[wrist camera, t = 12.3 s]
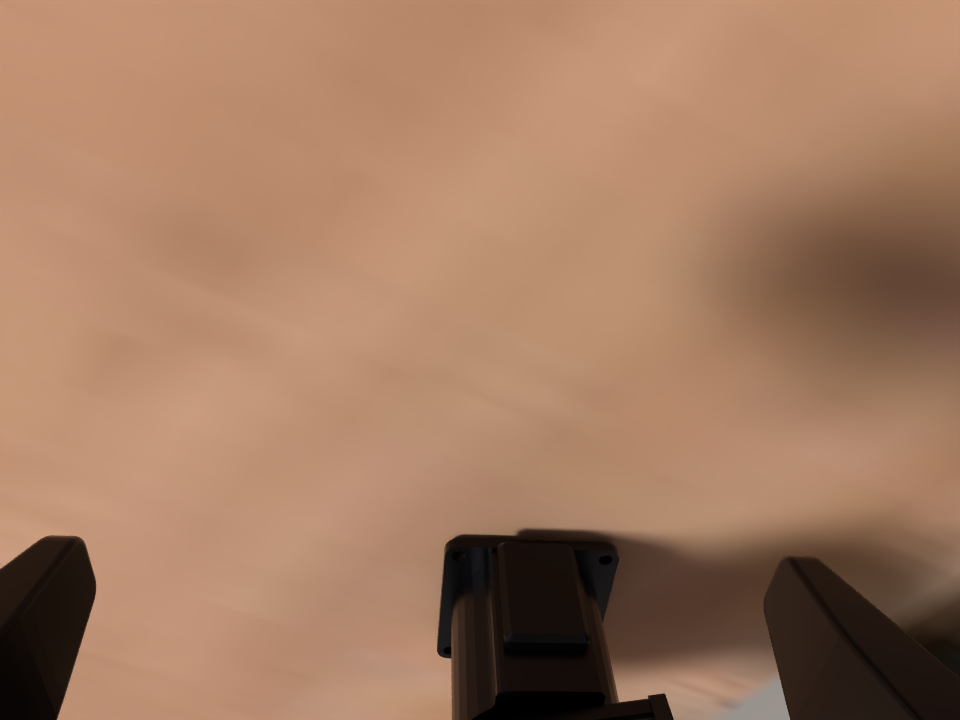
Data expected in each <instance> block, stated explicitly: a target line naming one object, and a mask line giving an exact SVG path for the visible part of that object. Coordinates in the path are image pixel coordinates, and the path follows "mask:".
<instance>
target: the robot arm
mask: <svg viewBox="0 0 960 720" xmlns="http://www.w3.org/2000/svg"><path fill="white" fill-rule="evenodd" d="M457 551H460V553H456V552H457ZM606 555H607V556H606ZM602 556H605V557H602ZM618 561H619V557H618V553H617V549H616V547H615V546H614V545H612V544H610V543H599V542H564V541H530V540H495V539H461V538H459V539H453V540H450V541H449V542H448V543H447V544H446V545H445V550H444V563H443V575H442V588H441V601H440V613H439V626H438V638H437V652H438V654H439V655H440V656H442V657H444V658H451V661H452V720H674V719H673V716H672V713H671V710H670V707H669V704H668V701H667V698H666V695H665V694H657V695H649V696H648V699H642V700H635V701H627V702H620V703H619V700H618V695H617V690H616V685H615V681H614V676H613V671H612V667H611V662H610V657H609V652H608V648H607V643H606V638H605V633H604V629H603V624H602V622H603V619H604V615H605V611H606V607H607V603H608V599H609V596H610V592H611V588H612V584H613V580H614V577H615V573H616V569H617V565H618ZM95 594H96V580H95V576H94V572H93V569H92V565H91V562H90V558H89V555H88V551H87V548H86V545H85V543H84V541H83V540H82V539H81V538H80V537H77V536H54V535H53V536H46V537H44V538H42V539H40V540H39V541H37V542H36V543H34V544H33V545H32V546H30V547H29V548H28V549H26V550H25V551H24V552H22V553H21V554H20V555H18V556H17V557H16V558H14V559H13V560H12V561H10V562H9V563H8V564H6V565H5V566H4V567H2V568H1V569H0V720H57V718H58V715H59V712H60V709H61V706H62V703H63V700H64V697H65V694H66V691H67V687H68V684H69V681H70V678H71V674H72V671H73V668H74V665H75V661H76V658H77V655H78V652H79V648H80V645H81V642H82V639H83V635H84V632H85V629H86V626H87V622H88V619H89V616H90V613H91V609H92V606H93V603H94V599H95ZM764 613H765V618H766V622H767V626H768V630H769V634H770V639H771V643H772V647H773V651H774V655H775V659H776V663H777V667H778V672H779V676H780V680H781V684H782V688H783V692H784V696H785V701H786V705H787V708H788V712H789V716H790V720H960V677H958V676H957V675H956V674H955V673H954V672H952V671H951V670H950V669H949V668H948V667H946V666H945V665H944V664H943V663H942V662H941V661H939V660H938V659H937V658H936V657H935V656H933V655H932V654H931V653H930V652H929V651H927V650H926V649H925V648H924V647H923V646H922V645H920V644H919V643H918V642H917V641H916V640H914V639H913V638H912V637H911V636H910V635H908V634H907V633H906V632H905V631H904V630H902V629H901V628H900V627H899V626H898V625H897V624H895V623H894V622H893V621H892V620H891V619H889V618H888V617H887V616H886V615H885V614H883V613H882V612H881V611H880V610H879V609H877V608H876V607H875V606H874V605H873V604H872V603H870V602H869V601H868V600H867V599H866V598H864V597H863V596H862V595H861V594H860V593H858V592H857V591H856V590H855V589H854V588H852V587H851V586H850V585H849V584H848V583H847V582H845V581H844V580H843V579H842V578H841V577H839V576H838V575H837V574H836V573H835V572H833V571H832V570H831V569H830V568H829V567H827V566H826V565H825V564H824V563H823V562H821V561H820V560H819V559H817V558H815V557H812V556H791V555H788V556H785V557H783V558H782V559H781V560H780V562H779V564H778V566H777V568H776V571H775V573H774V575H773V578H772V580H771V582H770V585H769V587H768V589H767V592H766V594H765V598H764Z"/></svg>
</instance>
